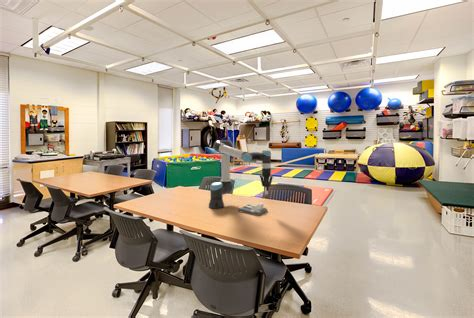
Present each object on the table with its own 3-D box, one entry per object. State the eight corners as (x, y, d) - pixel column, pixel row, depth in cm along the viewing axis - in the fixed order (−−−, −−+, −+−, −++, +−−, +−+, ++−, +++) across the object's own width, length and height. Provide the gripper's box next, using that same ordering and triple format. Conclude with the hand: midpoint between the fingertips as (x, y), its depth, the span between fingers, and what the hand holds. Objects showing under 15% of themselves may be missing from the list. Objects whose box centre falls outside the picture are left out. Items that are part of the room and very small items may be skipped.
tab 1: (251, 210, 220) (251, 205, 219) (253, 209, 223) (253, 204, 222) (255, 211, 217) (255, 206, 217) (257, 210, 221) (257, 205, 220)
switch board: (237, 211, 226) (237, 208, 225) (247, 207, 239) (247, 204, 238) (258, 215, 213) (258, 212, 213) (267, 211, 226) (267, 208, 225)
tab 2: (257, 209, 224) (257, 203, 224) (259, 208, 228) (259, 202, 227) (261, 210, 222) (261, 204, 222) (263, 209, 225) (263, 203, 225)
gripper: (257, 167, 217) (257, 194, 219) (270, 168, 210) (270, 195, 211) (262, 167, 223) (262, 192, 225) (274, 167, 216) (274, 194, 217)
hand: (266, 194), depth 218 cm, fingers closed
